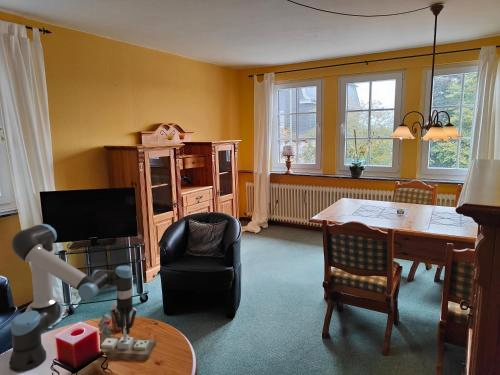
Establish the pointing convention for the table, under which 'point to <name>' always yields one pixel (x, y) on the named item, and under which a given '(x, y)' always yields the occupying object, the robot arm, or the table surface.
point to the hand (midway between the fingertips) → (125, 339)
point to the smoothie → (114, 318)
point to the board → (129, 353)
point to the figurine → (105, 325)
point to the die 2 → (125, 343)
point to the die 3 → (141, 345)
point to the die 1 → (109, 343)
